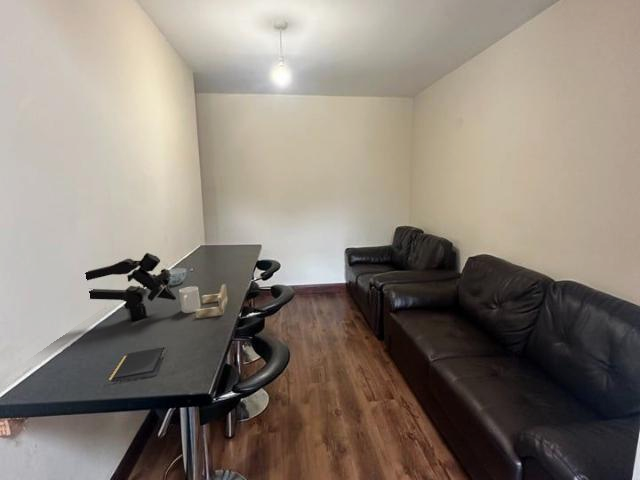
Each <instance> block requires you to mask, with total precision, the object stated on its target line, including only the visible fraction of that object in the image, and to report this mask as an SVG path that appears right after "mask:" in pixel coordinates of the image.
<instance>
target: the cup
mask: <svg viewBox="0 0 640 480" xmlns="http://www.w3.org/2000/svg"><path fill="white" fill-rule="evenodd" d="M178 293H179V300H180V306H181V312H183V313H184V314H190V313H194V312H195V311H196V310H197V309H201V300H200V293H199V288H198V286H195V285H194V286H186V287H183V288H180V289H179V290H178ZM195 313H196V312H195Z"/></svg>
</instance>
